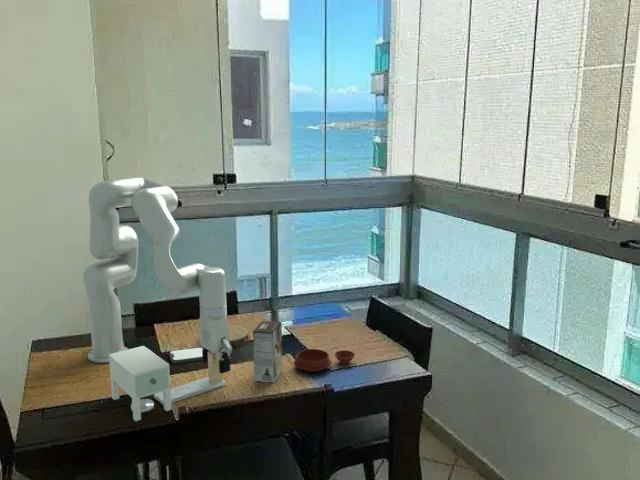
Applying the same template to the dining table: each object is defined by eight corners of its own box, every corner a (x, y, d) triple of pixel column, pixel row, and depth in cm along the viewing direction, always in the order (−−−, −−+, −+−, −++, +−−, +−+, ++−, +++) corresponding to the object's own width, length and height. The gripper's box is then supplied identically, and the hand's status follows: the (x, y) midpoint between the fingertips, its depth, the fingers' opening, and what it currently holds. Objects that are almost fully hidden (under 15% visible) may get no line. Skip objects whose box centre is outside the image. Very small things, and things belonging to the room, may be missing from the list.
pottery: (288, 364, 188) (288, 351, 187) (346, 355, 195) (346, 342, 194) (301, 379, 177) (301, 365, 176) (361, 369, 184) (361, 355, 183)
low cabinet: (112, 398, 164) (108, 354, 162) (146, 387, 171) (143, 345, 168) (138, 423, 151) (134, 376, 148) (174, 411, 157) (171, 366, 154)
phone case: (216, 349, 201) (168, 355, 195) (216, 345, 200) (168, 350, 194) (222, 359, 193) (172, 365, 187) (222, 354, 192) (172, 360, 186)
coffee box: (262, 369, 184) (262, 320, 180) (282, 370, 182) (282, 321, 179) (253, 381, 175) (252, 330, 171) (274, 383, 174) (273, 332, 170)
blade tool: (154, 398, 165) (152, 365, 163) (215, 378, 177) (213, 347, 175) (163, 406, 160) (162, 372, 158) (225, 385, 173) (224, 353, 171)
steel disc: (127, 407, 160) (127, 403, 160) (148, 400, 164) (148, 396, 163) (136, 415, 155) (136, 411, 155) (157, 409, 159) (157, 404, 159)
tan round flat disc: (257, 338, 210) (257, 330, 209) (227, 352, 197) (227, 344, 196) (223, 329, 218) (223, 321, 218) (192, 343, 205) (192, 335, 204)
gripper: (187, 306, 173) (190, 361, 176) (217, 321, 160) (219, 380, 163) (210, 301, 178) (213, 354, 181) (240, 315, 164) (243, 372, 168)
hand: (216, 366), depth 172 cm, fingers open, 9 cm apart
